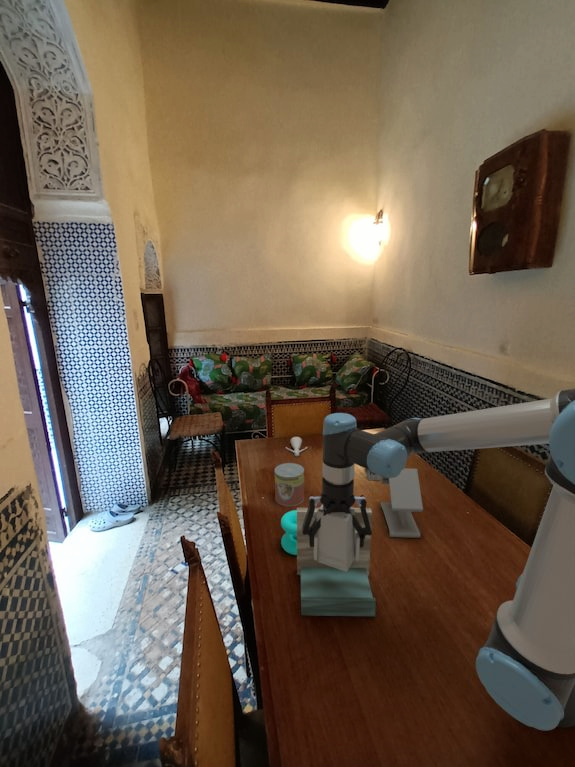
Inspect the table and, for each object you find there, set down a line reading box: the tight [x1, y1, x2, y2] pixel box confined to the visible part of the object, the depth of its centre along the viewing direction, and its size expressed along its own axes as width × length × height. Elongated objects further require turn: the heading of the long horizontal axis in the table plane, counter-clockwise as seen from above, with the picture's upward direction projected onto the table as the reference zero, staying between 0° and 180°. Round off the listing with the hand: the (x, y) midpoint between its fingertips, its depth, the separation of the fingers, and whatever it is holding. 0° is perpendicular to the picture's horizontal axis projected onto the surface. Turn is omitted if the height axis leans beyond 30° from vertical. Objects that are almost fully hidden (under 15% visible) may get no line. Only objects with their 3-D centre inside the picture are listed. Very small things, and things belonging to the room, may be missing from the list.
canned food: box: [274, 462, 305, 507], centre depth 137 cm, size 11×11×12 cm
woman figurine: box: [285, 436, 309, 457], centre depth 181 cm, size 12×4×18 cm
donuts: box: [280, 509, 297, 556], centre depth 111 cm, size 10×10×10 cm
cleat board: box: [296, 507, 377, 617], centre depth 92 cm, size 15×20×20 cm
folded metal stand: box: [379, 467, 424, 539], centre depth 121 cm, size 18×10×20 cm, turn 176°
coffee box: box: [364, 468, 383, 481], centre depth 153 cm, size 9×6×16 cm
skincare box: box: [316, 503, 355, 572], centre depth 89 cm, size 8×6×15 cm
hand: (335, 556), depth 91 cm, fingers closed on skincare box, 10 cm apart
